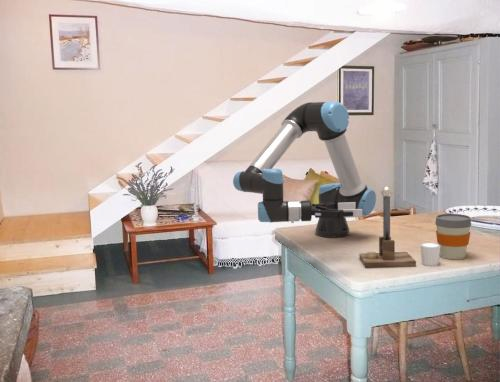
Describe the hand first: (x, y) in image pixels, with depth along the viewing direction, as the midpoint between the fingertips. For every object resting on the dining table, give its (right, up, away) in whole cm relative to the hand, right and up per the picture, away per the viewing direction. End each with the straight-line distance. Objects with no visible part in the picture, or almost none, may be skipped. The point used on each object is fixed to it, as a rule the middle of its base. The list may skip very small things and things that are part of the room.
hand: (358, 209), depth 191 cm
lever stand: (+11, -20, +4) cm, 23 cm away
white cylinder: (+26, -20, 0) cm, 33 cm away
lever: (+11, -15, +3) cm, 19 cm away
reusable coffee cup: (+37, -18, +8) cm, 42 cm away
